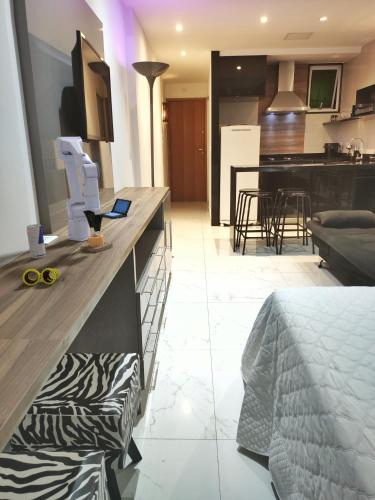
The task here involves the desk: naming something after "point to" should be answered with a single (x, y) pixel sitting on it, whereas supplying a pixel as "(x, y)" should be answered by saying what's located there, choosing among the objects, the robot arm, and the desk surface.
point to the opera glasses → (41, 276)
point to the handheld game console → (119, 209)
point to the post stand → (98, 248)
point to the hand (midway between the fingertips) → (94, 229)
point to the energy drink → (36, 241)
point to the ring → (96, 241)
